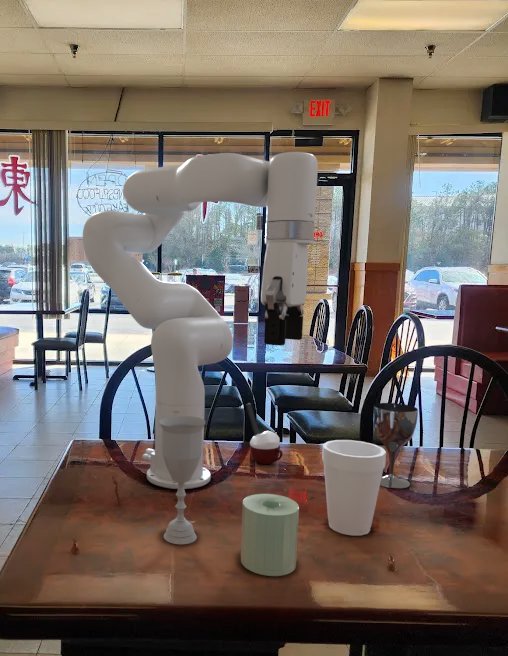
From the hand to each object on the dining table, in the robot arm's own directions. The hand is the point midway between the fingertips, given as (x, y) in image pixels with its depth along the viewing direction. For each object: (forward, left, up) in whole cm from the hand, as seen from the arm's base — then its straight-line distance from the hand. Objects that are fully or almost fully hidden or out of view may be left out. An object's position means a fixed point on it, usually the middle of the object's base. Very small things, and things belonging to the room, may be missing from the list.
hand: (283, 341), depth 93 cm
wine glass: (+9, +29, -29) cm, 42 cm away
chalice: (-7, -18, -29) cm, 35 cm away
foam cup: (+11, +3, -29) cm, 32 cm away
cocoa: (-16, +23, -29) cm, 41 cm away
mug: (+7, -15, -29) cm, 33 cm away
